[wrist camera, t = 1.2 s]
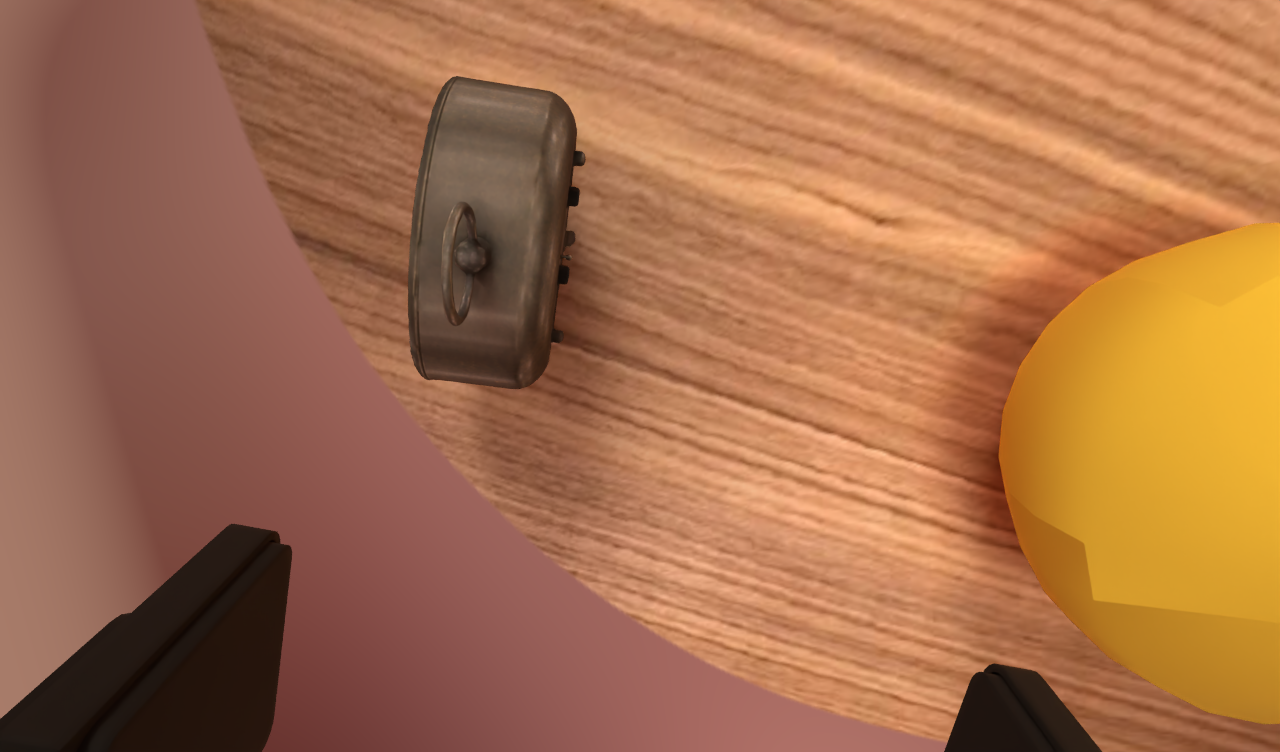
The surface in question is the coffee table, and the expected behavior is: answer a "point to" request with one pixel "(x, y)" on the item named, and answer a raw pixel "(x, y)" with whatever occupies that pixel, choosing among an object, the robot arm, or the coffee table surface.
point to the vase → (1162, 468)
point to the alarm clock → (491, 233)
